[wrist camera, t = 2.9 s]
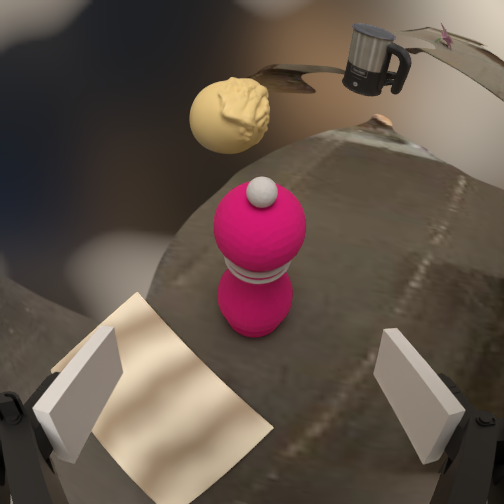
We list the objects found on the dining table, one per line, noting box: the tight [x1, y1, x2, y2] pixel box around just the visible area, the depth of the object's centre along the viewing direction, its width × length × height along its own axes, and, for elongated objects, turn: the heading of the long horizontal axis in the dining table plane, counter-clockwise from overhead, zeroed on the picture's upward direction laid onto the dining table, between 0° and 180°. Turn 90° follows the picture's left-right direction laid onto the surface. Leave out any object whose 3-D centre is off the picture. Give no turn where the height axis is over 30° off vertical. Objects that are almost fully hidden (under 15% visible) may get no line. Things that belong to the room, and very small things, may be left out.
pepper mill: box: [213, 177, 306, 338], centre depth 26 cm, size 7×7×20 cm
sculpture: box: [190, 77, 270, 154], centre depth 44 cm, size 12×12×11 cm
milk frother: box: [342, 23, 411, 96], centre depth 55 cm, size 14×16×15 cm
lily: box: [435, 24, 453, 50], centre depth 88 cm, size 12×12×10 cm
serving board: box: [51, 292, 274, 504], centre depth 28 cm, size 20×14×2 cm
